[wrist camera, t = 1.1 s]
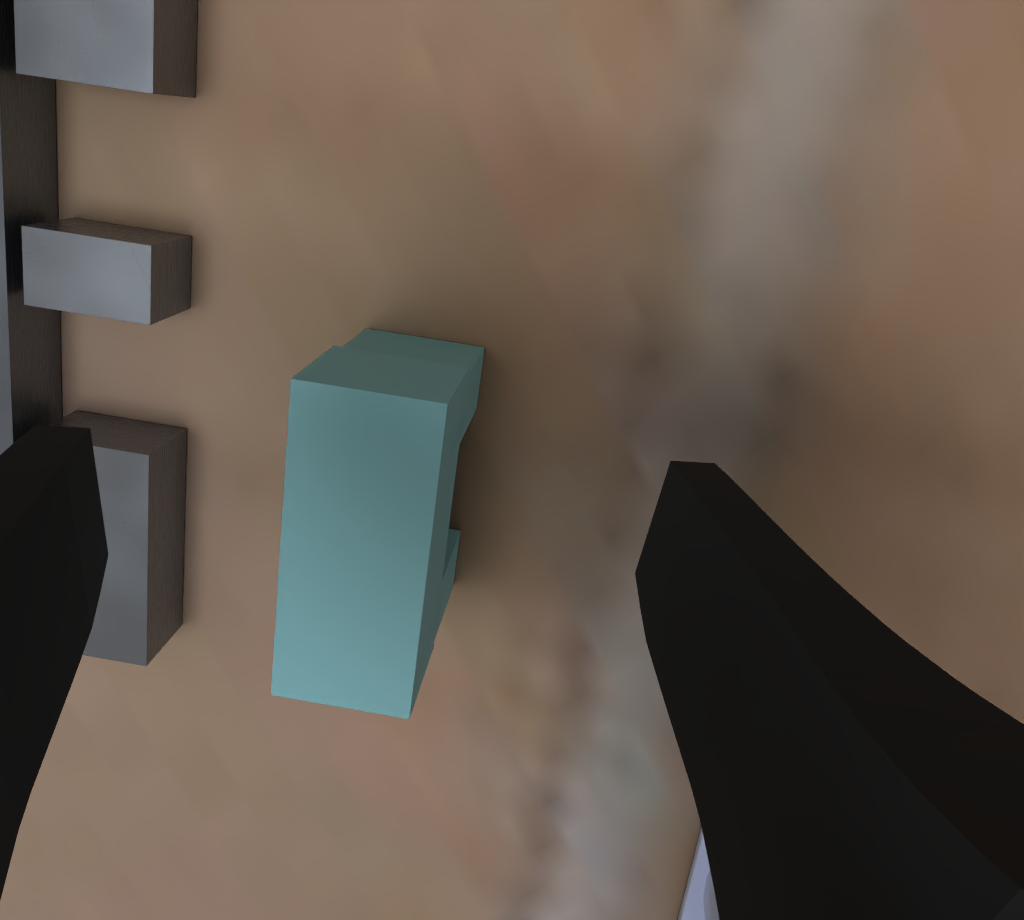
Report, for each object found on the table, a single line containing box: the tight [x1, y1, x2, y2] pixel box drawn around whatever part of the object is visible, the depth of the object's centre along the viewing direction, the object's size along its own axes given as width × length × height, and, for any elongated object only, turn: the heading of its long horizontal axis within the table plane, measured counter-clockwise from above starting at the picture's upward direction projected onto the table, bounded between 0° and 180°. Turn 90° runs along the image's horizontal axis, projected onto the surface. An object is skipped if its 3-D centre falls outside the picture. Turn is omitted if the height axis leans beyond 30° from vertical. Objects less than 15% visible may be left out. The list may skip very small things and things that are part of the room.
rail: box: [0, 0, 198, 666], centre depth 23 cm, size 20×4×2 cm, turn 172°
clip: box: [271, 328, 485, 719], centre depth 22 cm, size 7×3×6 cm, turn 172°
